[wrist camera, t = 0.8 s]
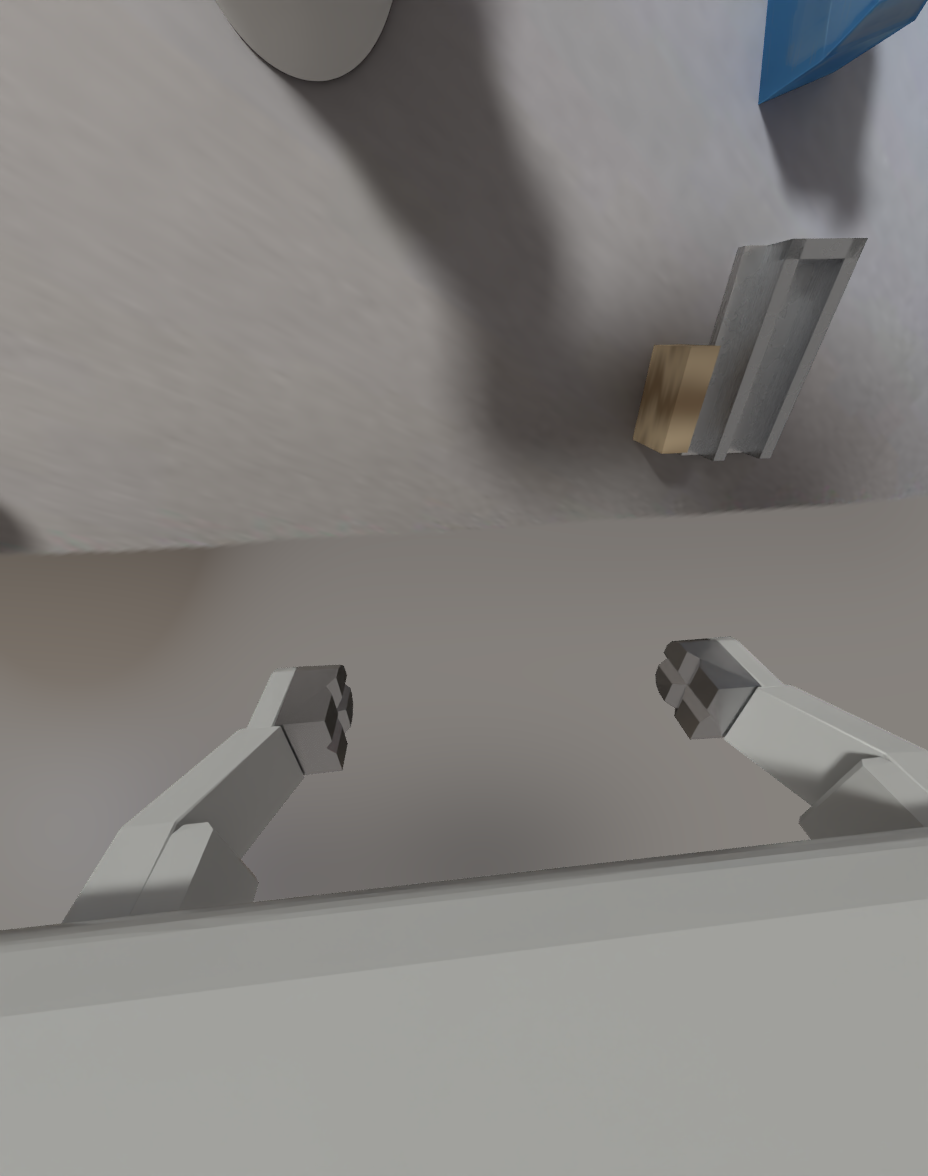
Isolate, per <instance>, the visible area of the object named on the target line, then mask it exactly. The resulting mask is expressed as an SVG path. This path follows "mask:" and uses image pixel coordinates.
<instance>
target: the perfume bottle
mask: <svg viewBox="0 0 928 1176" xmlns="http://www.w3.org/2000/svg"><path fill="white" fill-rule="evenodd" d="M926 2H927V0H768V6H767V17H766V27H765V38H764V49H763V59H762V70H761V81H760V91H759V102H758V105H759V104H761V103H763V102H766V101H768V100H770V99H773V98H775V97H777V96H780V95H782V94H784V93H786V92H789V91H791V90H793V89H796V88H798V87H800V86H803V85H805V84H807V83H810V82H812V81H814V80H817V79H819V78H821V77H824V76H826V75H828V74H831V73H833V72H835V71H836V70H838V69H840V68H841V67H843V66H844V65H846V64H847V63H849V62H850V61H852V60H854V59H855V58H857V57H858V56H860V55H861V54H863V53H864V52H866V51H868V50H869V49H871V48H872V47H874V46H875V45H877V44H878V43H880V42H882V41H883V40H885V39H886V38H888V37H889V36H891V35H892V34H894V33H896V32H897V31H899V30H900V29H902V28H903V27H905V26H906V25H908V24H910V23H911V22H913V21H914V20H915V19H916V18H917V16H918V14H919V13H920V11H921V10H922V8H923V7H924V5H925V4H926Z"/></svg>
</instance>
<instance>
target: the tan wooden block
mask: <svg viewBox="0 0 928 1176" xmlns="http://www.w3.org/2000/svg"><path fill="white" fill-rule="evenodd" d="M720 347H721V346H713V345H683V344H676V345H654V347H653V352H652V356H651V361H650V365H649V369H648V374H647V378H646V383H645V387H644V391H643V396H642V400H641V404H640V409H639V413H638V418H637V422H636V426H635V431H634V435H633V440H635V441H637V442H639V443H641V444H643V445H645V446H647V447H649V448H651V449H653V450H655V451H657V452H659V453H661V454H667V453H687V452H688V449H689V446H690V443H691V439H692V436H693V433H694V430H695V427H696V424H697V420H698V417H699V414H700V411H701V408H702V404H703V401H704V398H705V395H706V392H707V389H708V385H709V382H710V379H711V376H712V373H713V370H714V366H715V363H716V360H717V357H718V354H719V351H720Z"/></svg>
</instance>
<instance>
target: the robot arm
mask: <svg viewBox="0 0 928 1176" xmlns="http://www.w3.org/2000/svg"><path fill="white" fill-rule="evenodd" d="M215 1H216V2H217V4H218V6H219V7H220V9H221V10H222V12H223V13H224V15H225V16H226V18H227V19H228V21H229V22H230V24H231V25H232V26H233V28H234V29H235V30H236V31H237V33H238V34H239V35H240V36H241V37H242V39H243V40H244V41H245V42H246V43H247V44H248V45H249V46H250V47H251V48H252V49H253V50H254V51H255V52H256V53H257V54H258V55H259V56H261V57H262V58H263V59H264V60H265V61H267V62H268V63H269V64H271V65H272V66H274V67H275V68H277V69H279V70H280V71H282V72H284V73H286V74H288V75H291V76H293V77H296V78H299V79H303V80H308V81H326V80H331V79H335V78H338V77H340V76H343V75H344V74H346V73H348V72H350V71H351V70H352V69H354V68H355V67H356V66H357V65H358V64H360V63H361V62H362V60H363V59H364V58H365V57H366V56H367V55H368V53H369V52H370V51H371V49H372V48H373V46H374V45H375V43H376V41H377V40H378V38H379V36H380V34H381V32H382V29H383V27H384V25H385V22H386V19H387V17H388V14H389V11H390V7H391V4H392V1H393V0H215ZM664 654H665V655H666V657H667V659H666V660H664V661H663V662H662V663H661V664H659V666H658V669H657V671H656V674H655V675H656V685H657V688H658V691H659V693H660V695H661V696H662V698H663V699H664V701H665V702H667V703H668V704H670V705H671V706H673V707H674V708H675V715H674V716H675V718H676V719H677V721H678V722H679V724H680V725H681V727H682V728H683V730H684V731H685V733H686V734H687V736H688V737H689V738H690V739H704V738H720V737H725V738H724V740H725V741H727V742H728V743H729V744H731V745H732V746H733V747H735V748H736V749H737V750H739V751H740V752H741V753H743V754H744V755H745V756H746V757H748V758H749V759H750V760H752V761H753V762H755V763H756V764H757V765H758V766H760V767H761V768H762V769H764V770H765V771H766V772H768V773H769V774H770V775H772V776H773V777H774V778H776V779H777V780H778V781H779V782H781V783H782V784H783V785H785V786H786V787H787V788H789V789H790V790H791V791H793V792H794V793H795V794H797V795H798V796H799V797H801V798H802V799H803V800H805V801H806V802H807V803H809V804H810V805H811V807H810V808H809V809H808V810H807V811H806V812H805V813H804V814H803V815H802V816H800V819H799V824H800V826H801V827H802V828H803V830H804V831H805V832H806V834H807V835H808V836H809V837H810V839H811V840H804V841H794V842H786V843H776V844H767V845H758V846H749V847H741V848H732V849H723V850H714V851H705V852H696V853H687V854H678V855H669V856H660V857H651V858H642V859H633V860H624V861H615V862H606V863H597V864H588V865H580V866H571V867H562V868H553V869H544V870H536V871H526V872H517V873H508V874H499V875H491V876H481V877H473V878H463V879H454V880H445V881H437V882H427V883H418V884H411V885H401V886H392V887H384V888H374V889H365V890H356V891H347V892H339V893H330V894H321V895H312V896H303V897H294V898H285V899H276V900H267V901H259V902H253V900H254V897H255V893H256V890H257V887H258V883H259V882H258V880H257V878H256V877H255V875H254V874H253V873H252V872H251V870H250V869H249V868H248V867H247V866H246V865H245V864H244V863H243V861H242V860H241V858H242V857H243V856H244V854H245V853H246V852H247V851H248V849H249V848H250V847H251V845H252V844H253V843H254V842H255V840H256V839H257V838H258V836H259V835H260V834H261V832H262V831H263V830H264V829H265V827H266V826H267V825H268V823H269V822H270V821H271V820H272V818H273V817H274V816H275V815H276V813H277V812H278V811H279V809H280V808H281V807H282V806H283V804H284V803H285V802H286V800H287V799H288V798H289V796H290V795H291V794H292V793H293V791H294V790H295V789H296V787H297V786H298V785H299V784H300V782H301V781H302V780H303V779H304V775H308V774H317V773H325V772H334V771H342V770H343V765H344V760H345V755H346V749H347V744H348V743H347V740H346V737H345V733H346V731H347V730H348V729H349V728H350V727H351V722H352V716H353V698H352V692H351V689H350V687H348V686H347V685H345V682H346V677H347V674H346V671H345V668H344V666H343V665H325V666H303V667H292V668H277V669H276V670H275V671H274V672H273V673H272V674H271V676H270V678H269V681H268V683H267V685H266V687H265V689H264V691H263V694H262V696H261V698H260V700H259V702H258V705H257V707H256V709H255V711H254V713H253V715H252V718H251V720H250V722H249V724H248V726H247V728H246V729H239V730H238V731H237V732H235V733H234V734H233V735H232V736H231V737H230V738H228V739H227V740H226V741H225V742H223V743H222V744H221V745H220V746H219V747H217V749H215V750H214V751H213V752H211V753H210V754H209V755H208V756H207V757H205V758H204V759H203V760H202V761H201V762H199V763H198V764H197V765H196V766H195V767H194V768H192V769H191V770H190V771H189V772H188V773H186V774H185V775H184V776H183V777H182V778H180V779H179V780H178V781H177V782H176V783H174V784H173V785H172V786H171V787H170V788H168V789H167V790H166V791H165V792H163V793H162V794H161V795H160V796H159V797H157V798H156V799H155V800H154V801H153V802H151V803H150V804H149V805H148V806H147V807H146V808H144V809H143V810H142V811H141V812H139V813H138V814H137V815H136V816H135V817H133V818H132V819H131V820H130V821H129V822H128V823H126V824H125V825H124V826H123V827H122V828H121V829H120V830H119V832H118V833H117V835H116V837H115V838H114V840H113V841H112V843H111V845H110V846H109V848H108V850H107V851H106V853H105V854H104V856H103V858H102V859H101V861H100V862H99V864H98V866H97V867H96V869H95V870H94V872H93V874H92V875H91V877H90V878H89V880H88V881H87V883H86V885H85V886H84V888H83V890H82V891H81V893H80V894H79V896H78V898H77V899H76V901H75V902H74V904H73V906H72V907H71V909H70V911H69V912H68V914H67V915H66V917H65V919H64V920H63V922H62V923H61V924H53V925H45V926H36V927H26V928H17V929H9V930H0V1176H928V751H927V750H925V749H923V748H921V747H919V746H917V745H915V744H913V743H911V742H909V741H907V740H905V739H902V738H900V737H898V736H896V735H894V734H892V733H890V732H888V731H886V730H884V729H882V728H880V727H878V726H875V725H873V724H871V723H869V722H867V721H865V720H863V719H861V718H859V717H857V716H855V715H853V714H850V713H848V712H846V711H844V710H842V709H840V708H838V707H836V706H834V705H831V704H830V703H828V702H826V701H823V700H821V699H819V698H817V697H815V696H813V695H811V694H809V693H807V692H805V691H803V690H800V689H799V688H796V687H795V686H792V685H784V684H783V683H782V682H781V681H780V680H779V679H778V678H777V677H776V676H775V675H774V674H772V672H771V671H769V670H768V669H767V668H766V667H765V666H764V665H763V664H762V663H761V662H760V661H759V660H758V659H757V658H756V657H755V656H754V655H753V654H752V653H750V652H749V650H747V649H746V648H745V647H744V646H743V645H742V644H741V643H740V642H739V641H738V640H737V639H735V638H732V637H720V638H710V639H695V640H681V641H672V642H670V643H669V644H668V645H667V647H666V649H665V651H664Z"/></svg>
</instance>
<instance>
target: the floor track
mask: <svg viewBox="0 0 928 1176" xmlns="http://www.w3.org/2000/svg"><path fill="white" fill-rule="evenodd" d="M867 239H868V238H835V239H791V240H787V241H783V242H779V243H775V244H772V245H768V246H743V247H739V248H738V251H737V254H736V258H735V261H734V264H733V268H732V271H731V274H730V278H729V281H728V284H727V288H726V291H725V294H724V298H723V301H722V304H721V308H720V311H719V314H718V318H717V321H716V324H715V328H714V331H713V335H712V338H711V341H710V345H713V346H721V347H720V351H719V354H718V357H717V360H716V363H715V366H714V370H713V373H712V376H711V379H710V382H709V385H708V389H707V392H706V395H705V398H704V401H703V404H702V408H701V411H700V414H699V417H698V420H697V424H696V427H695V430H694V433H693V436H692V439H691V443H690V446H689V449H688V452H687V453H677V454H679V455H701V456H703V457H705V458H707V459H710V460H712V461H724V460H725V457H726V454H727V453H741V452H742V453H745V454H748V455H751V456H753V457H756V458H759V459H765V458H771V455H772V453H773V451H774V449H775V446H776V444H777V442H778V440H779V437H780V435H781V433H782V431H783V428H784V426H785V424H786V421H787V419H788V417H789V415H790V412H791V410H792V408H793V406H794V403H795V401H796V399H797V397H798V394H799V392H800V390H801V388H802V385H803V383H804V381H805V379H806V376H807V374H808V372H809V370H810V367H811V365H812V363H813V361H814V358H815V356H816V354H817V351H818V349H819V347H820V345H821V342H822V340H823V338H824V336H825V333H826V331H827V329H828V327H829V324H830V322H831V320H832V318H833V315H834V313H835V311H836V309H837V306H838V304H839V302H840V300H841V297H842V295H843V293H844V291H845V288H846V286H847V284H848V281H849V279H850V277H851V275H852V272H853V270H854V268H855V266H856V263H857V261H858V259H859V257H860V254H861V252H862V250H863V248H864V245H865V243H866V241H867Z"/></svg>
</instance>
